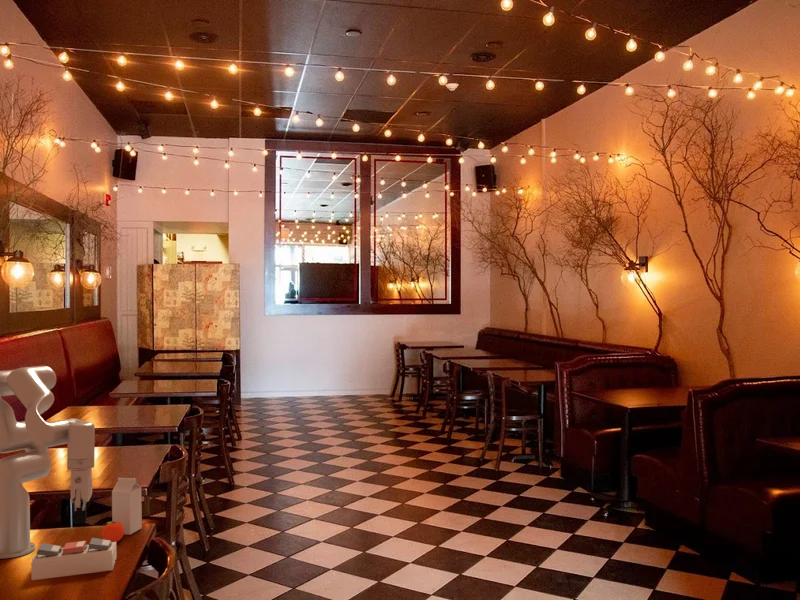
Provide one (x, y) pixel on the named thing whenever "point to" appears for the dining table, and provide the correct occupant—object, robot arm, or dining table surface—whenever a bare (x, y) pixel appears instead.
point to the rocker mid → (74, 547)
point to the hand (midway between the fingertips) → (80, 522)
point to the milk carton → (127, 504)
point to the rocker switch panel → (73, 563)
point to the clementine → (113, 531)
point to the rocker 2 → (99, 544)
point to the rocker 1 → (49, 550)
